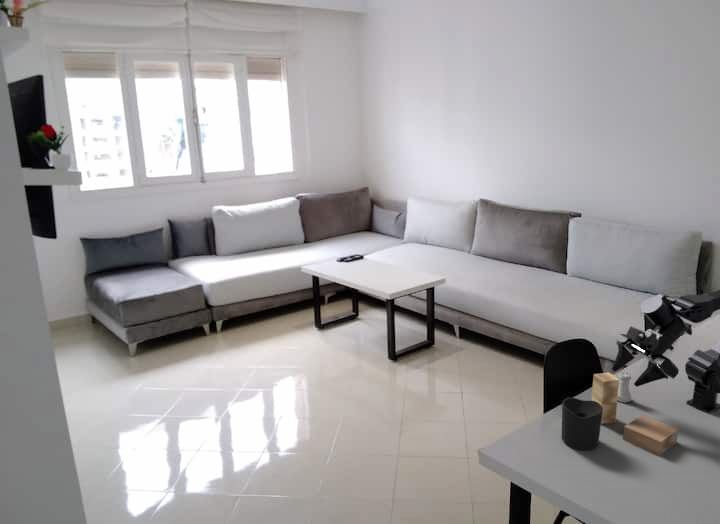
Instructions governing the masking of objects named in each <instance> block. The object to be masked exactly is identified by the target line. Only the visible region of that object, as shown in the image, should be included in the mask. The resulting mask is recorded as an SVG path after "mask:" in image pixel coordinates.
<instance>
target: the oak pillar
mask: <svg viewBox="0 0 720 524" xmlns="http://www.w3.org/2000/svg"><path fill="white" fill-rule="evenodd" d="M592 377H593V379H592V389H591V400H590V401H596V402H598V403H599V404H600V405H601V406H602V408H603V412H602V420H601V425H604V423H606V424H612V423H613V424H614V423H616V419H617V416H616V415H617V409H618V407H617V406H618V401H617V399H618V388H619V384H620V382H619V381H620V378H619V377H618V378H617V377H616V376H615V375H613V374H611V373H610V372H602V373H594V374H593V376H592Z"/></svg>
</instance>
